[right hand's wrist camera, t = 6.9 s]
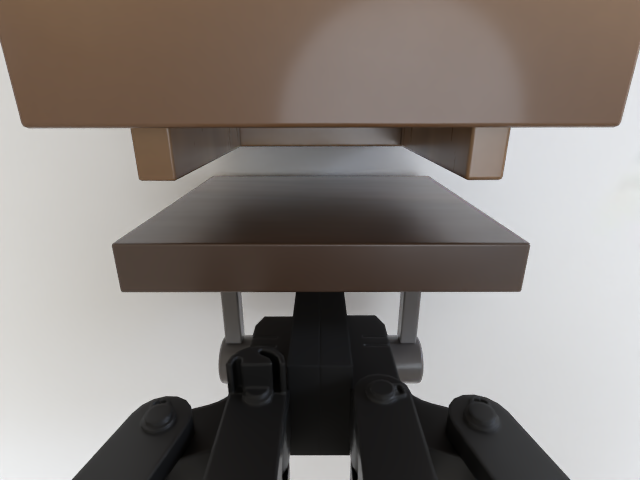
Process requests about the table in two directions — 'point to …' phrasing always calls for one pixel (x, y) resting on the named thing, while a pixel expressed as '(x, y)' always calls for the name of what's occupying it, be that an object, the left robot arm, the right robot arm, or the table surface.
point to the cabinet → (320, 63)
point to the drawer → (321, 226)
